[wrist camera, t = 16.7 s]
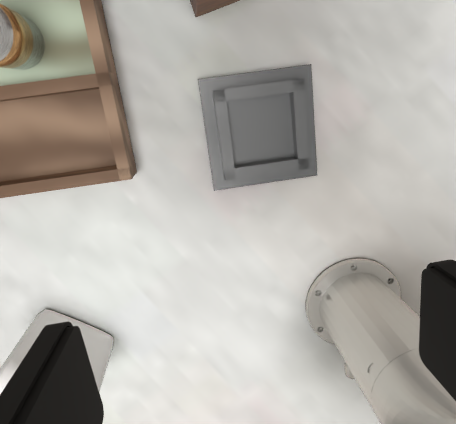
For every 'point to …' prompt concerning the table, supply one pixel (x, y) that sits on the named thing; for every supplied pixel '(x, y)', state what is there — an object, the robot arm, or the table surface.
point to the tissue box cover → (208, 5)
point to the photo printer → (93, 339)
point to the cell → (19, 41)
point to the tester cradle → (259, 126)
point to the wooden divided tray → (63, 105)
